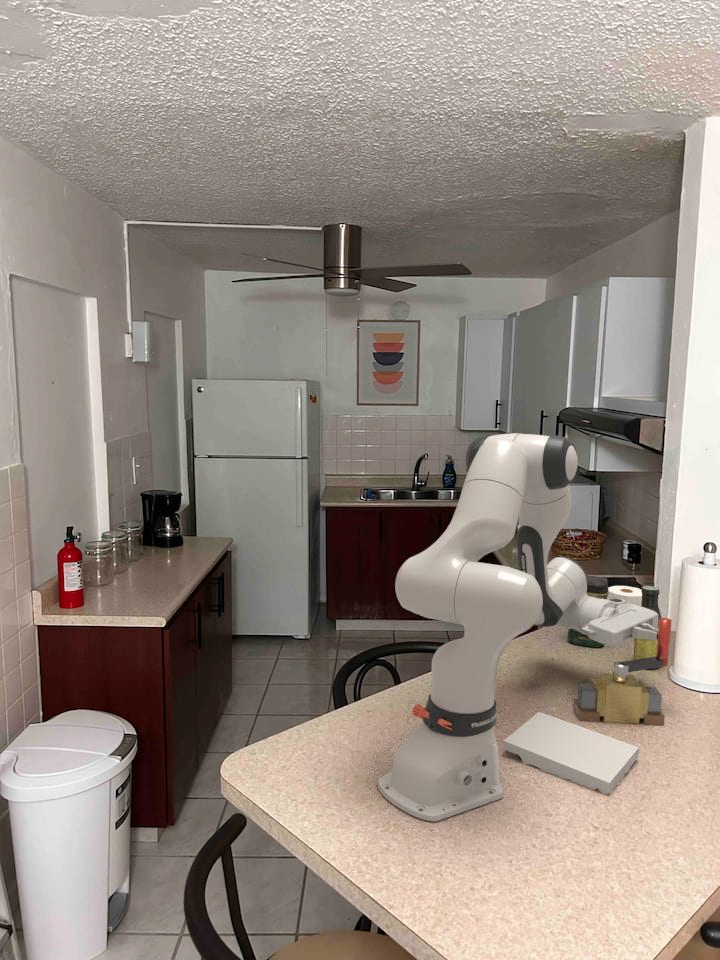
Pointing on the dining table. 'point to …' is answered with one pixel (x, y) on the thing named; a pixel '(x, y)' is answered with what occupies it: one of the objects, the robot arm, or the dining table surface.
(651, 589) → the sauce bottle
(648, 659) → the valve lever
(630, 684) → the ball valve
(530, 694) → the dining table surface
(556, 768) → the light grey flat slab
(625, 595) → the toilet paper
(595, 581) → the coffee jar
